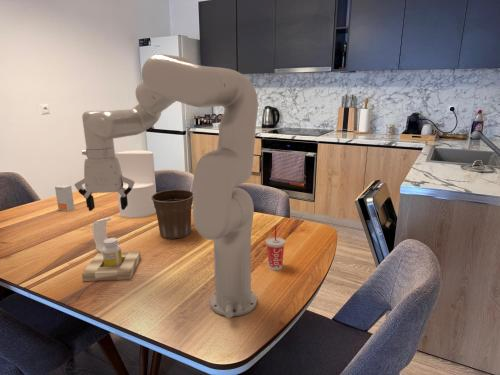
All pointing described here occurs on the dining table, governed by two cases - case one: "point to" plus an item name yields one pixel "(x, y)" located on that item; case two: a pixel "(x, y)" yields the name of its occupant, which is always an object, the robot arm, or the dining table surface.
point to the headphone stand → (100, 233)
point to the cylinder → (138, 182)
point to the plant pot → (173, 212)
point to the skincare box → (64, 197)
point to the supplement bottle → (112, 253)
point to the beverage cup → (275, 252)
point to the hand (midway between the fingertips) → (108, 208)
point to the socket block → (111, 268)
